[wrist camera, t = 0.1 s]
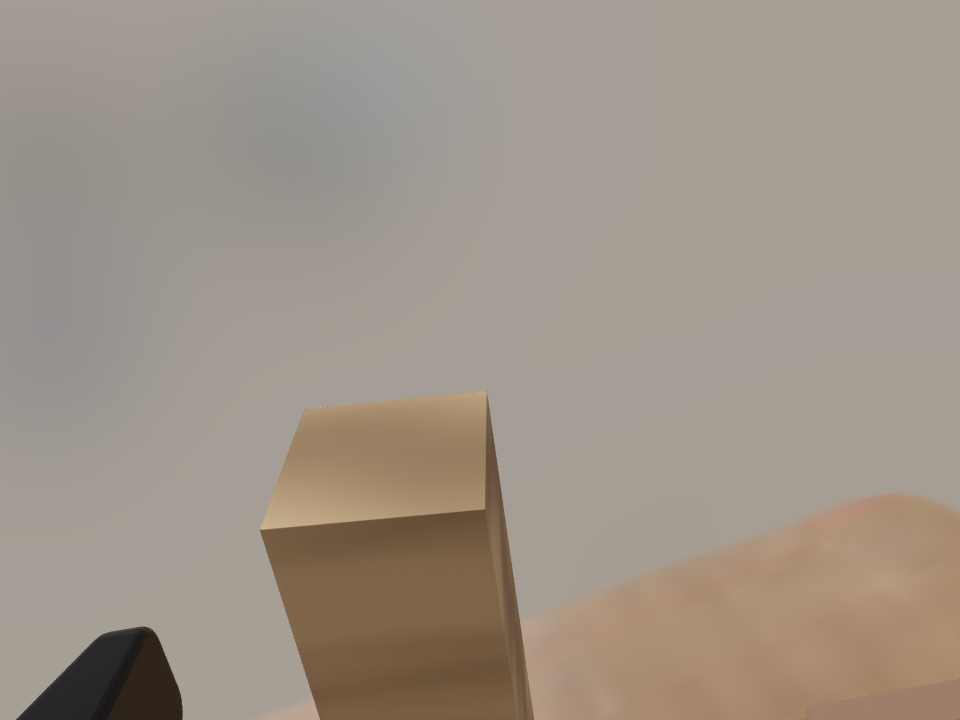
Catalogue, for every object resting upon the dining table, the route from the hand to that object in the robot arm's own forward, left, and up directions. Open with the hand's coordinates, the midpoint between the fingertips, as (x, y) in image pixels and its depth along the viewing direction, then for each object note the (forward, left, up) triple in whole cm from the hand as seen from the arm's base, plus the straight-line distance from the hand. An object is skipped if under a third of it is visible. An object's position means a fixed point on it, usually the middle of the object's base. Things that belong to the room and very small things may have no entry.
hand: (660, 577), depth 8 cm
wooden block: (+7, +3, -17) cm, 18 cm away
